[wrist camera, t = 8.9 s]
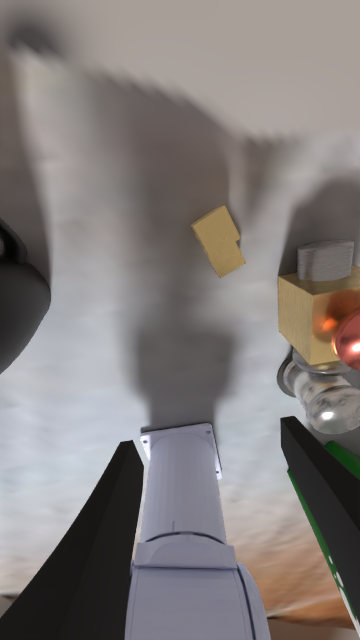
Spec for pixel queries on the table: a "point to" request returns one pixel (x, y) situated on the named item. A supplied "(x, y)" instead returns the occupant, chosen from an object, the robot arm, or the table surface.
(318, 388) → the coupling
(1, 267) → the mug
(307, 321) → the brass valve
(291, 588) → the table surface
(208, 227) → the elbow
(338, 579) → the milk carton
